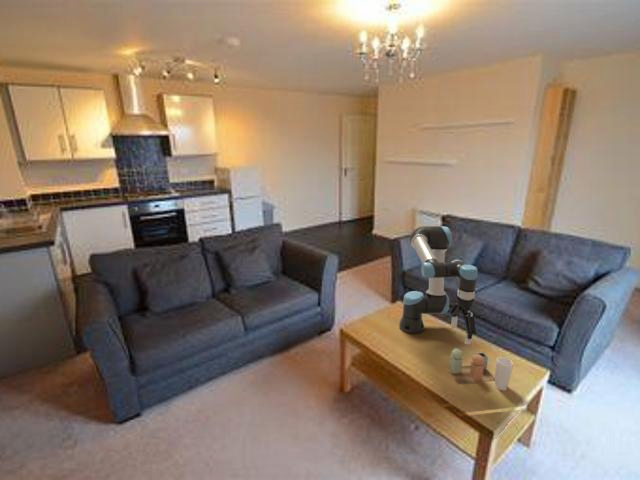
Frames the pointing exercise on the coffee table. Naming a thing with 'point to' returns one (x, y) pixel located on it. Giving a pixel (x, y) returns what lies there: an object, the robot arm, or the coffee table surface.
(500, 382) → the drinking glass
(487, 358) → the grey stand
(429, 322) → the coffee table surface
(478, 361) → the terracotta ball
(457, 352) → the sage ball
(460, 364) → the sage tube
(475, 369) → the terracotta tube
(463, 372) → the board
